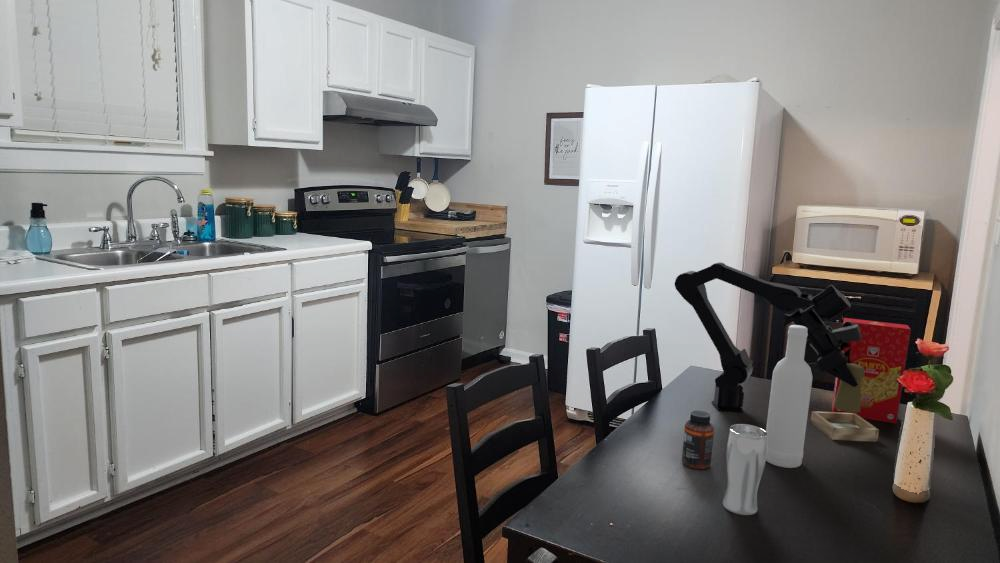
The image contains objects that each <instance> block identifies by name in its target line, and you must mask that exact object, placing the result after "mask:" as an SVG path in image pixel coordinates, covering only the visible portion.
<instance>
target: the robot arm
mask: <svg viewBox="0 0 1000 563" xmlns="http://www.w3.org/2000/svg"><path fill="white" fill-rule="evenodd" d="M713 280H720V281H722V282H725V283H727V284H730V285H732V286H733V287H737V288H739V289H742V290H743V291H744V290H745V291H746V292H749V293H751V294H754V295H756V296H759V297H760V298H762V299H764V300H765V301H766V302H768V303H769V304H770V305H772V306H773V307H775V308H776V309H778V310H779V311H782V312H786V313H785V314H784V315H783V318H784V321H783V326H784V327H786V326H788V325H790V324H791V323H792V325H800V326H805V327H806V328H807V329H808V331H807V333H808V336H807V339H806V345H808V346H811V348H812V349H813V350H814V351H815V353H816V357H817V358H818V359H817V360H816V364H815V367H816V369H817V370H818V371H819V372H820V374H823V373H828V374H829V375H832V376H833V377H835V378H836V377H837V378H839V379H840V380H842V381H844V382H846V383H848V384H849V385H851V386H853V387H856V386H857V385H858V383H857V381H856V380H855V378H854V376H853V374H852V373H851V371H850V369H849V368H848V366H847V363H852V362H851V360H850V352H851V348H850V349H848V350H846V351H845V350H844V348H846V347H850V346H851V343H850V341H859V340H861V339H862V338H861V337H862V334H861V332H860V328H859V326H858V325H857V324H855V325H854V324H853V323H852V322H851V321H847V322H844V323H842V327H839V328H836V329H835V328H834V329H833V327H832V326H831V325H826V324H825V323H824V321H823V320H822V319H828V320H829V321H831V320H832V319H834V318H835V317H837V316H839V315H840V314H842V313H843V312H845V311H846V310H849V309H850V308H851V307H852V305H851V303H850V302H849V300H848V298H847V297H846V296H845V294H844V293H841V291H840V290H839V289H837V288H836V287H835V286H834V284H829V286H827V287H826V288H825V289H824V290H822V291H821V292H820V293H818V294H816V295H812V294H808V293H805V292H801V290H800V289H799V288H798V287H796V286H793V285H788V284H784V283H777V282H771V281H767V280H764V279H762V278H760V277H757V276H755V275H751V274H750V273H747V272H744V271H743V270H739V269H737V268H735V267H732V266H729V265H728V264H726V263H724V262H721V261H720V262H715V263H713V264H711V265H710V266H708V267H706V268H703V269H700V270H698V271H694V270H689V271H686V272H683V273H680V274H678V275H677V276H676V278H675V281H674V287H675V290H676V291H677V292H678V293H679V295H680V296H681V297H682V299H684V300H685V302H686V303H688V304H689V305H690V306H691V307H692V308H693V310H694V312H695V313H696V315H697V316H698V318H699V320H700V322H701V325H702V326H703V327H704V330H705V332H706V333H707V335H708V337H709V338H710V340H711V342H712V343H713V345H714V347H715V349H716V350H717V352H718V355H719V360H720V365H721V368H722V372H721V373H720V374H719V375H718V376H717V377H716V378H715V379H714V382H715V388H714V396H713V397H714V398H713V400H711V404H712V405H713V406H714V407H715V408H716V409H717V411H722V412H723V411H724V412H725V411H726V412H728V411H729V412H741V413H742V412H743V411H744V409H743V408H744V407H743V406H744V397H745V392H744V386H742V385H741V384H743V383H745V382H746V380H748V378H750V376H751V375H752V374H753V373H752V372H753V370H754V369H753V365H752V364H753V360H752V359H751V358H750V356H749V355H748V352H747V350H746V348H743V349H741V350H740V349H739V348H738V347H736V345H735V343H734V342H733V341H732V339H731V337H730V336H729V333H728V332H727V330H726V329H725V326H724V324H722V321H721V320H720V318H719V316H718V314H717V312H716V311H715V309H714V307H713V305H712V304H711V303H710V300H709V297H708V293H707V292H708V291H707V288H706V285H705V284H706V283H709V282H711V281H713ZM811 304H812V305H811ZM809 305H811V306H809ZM808 306H809V307H808ZM807 307H808V308H807ZM797 308H798V309H797ZM802 308H806V309H805V310H804V309H802ZM795 309H797V310H796V311H794V310H795ZM792 311H794V312H793V313H790V314H789V313H788V312H792Z"/></svg>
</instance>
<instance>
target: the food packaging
mask: <svg viewBox="0 0 1000 563" xmlns="http://www.w3.org/2000/svg"><path fill="white" fill-rule="evenodd" d="M847 321H851V322H852V323H853V324H854V325H855V324H857V325H858V326H859V328H860V332H861V334H862V337H861V338H862V339H861V340H859V341H850V343H851V346H850V347H846V348H844V350H845V351H846V350H848V349H850V348H851V352H850V360H851V362H852V364H857V365H860V366H862V367H863V368H864V370H865V374H864V377H863V378H862V379H861V403H860V412H857V413H855V414H857V415H858V416H860V417H861V418H863V419H866V420H867V419H868V420H872V421H878V422H879V421H880V422H885V423H891V424H897V420H898V416H899V415H898V414H899V409H900V408H899V407H900V401H901V394H902V388H903V385H902V386H901V385H900V384H899V383H898V382H897V378H898V377H899V376H901V375H902V373H903V371H904V372H905V370H906V369H905V368H906V362H907V356H908V349H909V342H910V337H911V331H912V329H911V328H910V327H909V325H907V324H901V323H892V322H884V321H882V322H881V321H875V320H874V321H873V320H865V319H857V318H848V317H843V323H844V322H847ZM843 323H842V324H843ZM840 382H841V380H840V379H839V378H837V377H835V381H834V388H833V395H832V396H833V397H832V403H831V412H840V413H854V412H846V411H842V410H839V409H837V408H835V407H834V406H833V404H834V400H835V397H836V394H837V391H838V388H839V385H840Z"/></svg>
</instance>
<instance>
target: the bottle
mask: <svg viewBox="0 0 1000 563" xmlns="http://www.w3.org/2000/svg"><path fill="white" fill-rule="evenodd" d="M807 331H808V329H807V328H806V327H805V326H800V325H794V324H791V325H789V326H788V331H787V343H786V349H785V357H783V358H782V359H781V360H779V361H778V362H777V363H776V365H775V366H774V368H773V370H772V377H771V386H770V395H769V402H768V403H769V404H768V411H767V419H766V428H765V431H766V432H767V433H768V438H767V457H766V462H767V463H769V464H771V465H773V466H776V467H779V468H786V469H787V468H788V469H793V468H795V469H796V468H799V467H801V465H802V462H803V457H804V447H805V439H806V431H807V423H808V415H809V409H810V399H811V393H812V392H811V391H812V385H813V374H812V368H811V367H810V365H809V364H808V363H807V362H806V360H805V354H806V346H807V343H806V339H807V336H808V333H807Z"/></svg>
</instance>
